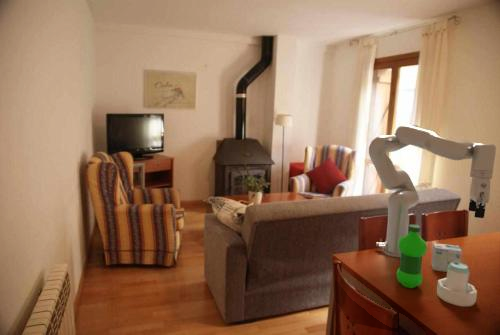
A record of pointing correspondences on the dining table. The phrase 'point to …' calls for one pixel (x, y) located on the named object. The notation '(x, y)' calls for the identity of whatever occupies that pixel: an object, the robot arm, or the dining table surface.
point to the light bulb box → (445, 256)
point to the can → (457, 277)
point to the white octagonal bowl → (456, 294)
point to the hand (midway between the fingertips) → (475, 214)
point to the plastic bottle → (411, 257)
